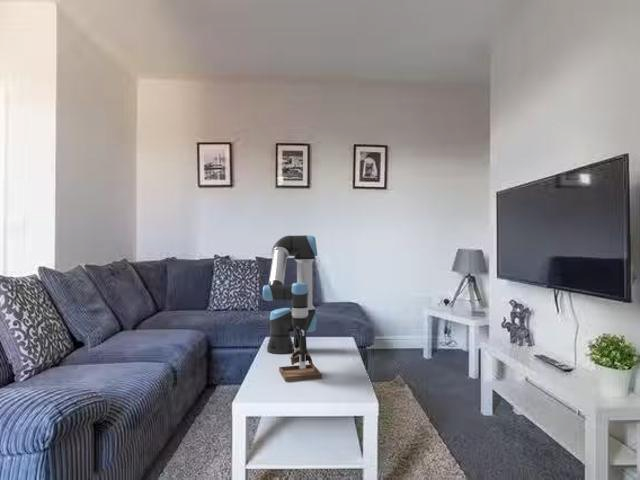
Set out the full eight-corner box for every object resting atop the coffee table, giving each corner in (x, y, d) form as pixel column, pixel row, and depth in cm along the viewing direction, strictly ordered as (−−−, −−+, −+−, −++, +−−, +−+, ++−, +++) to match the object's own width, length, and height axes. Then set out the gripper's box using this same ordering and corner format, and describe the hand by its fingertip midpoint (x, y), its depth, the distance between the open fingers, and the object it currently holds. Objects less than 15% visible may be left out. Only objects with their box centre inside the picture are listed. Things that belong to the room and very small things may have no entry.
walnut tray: (279, 371, 197) (279, 366, 197) (313, 368, 201) (313, 364, 201) (285, 381, 182) (285, 377, 182) (321, 378, 186) (321, 373, 186)
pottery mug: (312, 370, 186) (303, 354, 185) (295, 377, 189) (285, 362, 188) (317, 356, 198) (308, 341, 197) (300, 363, 200) (291, 349, 199)
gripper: (287, 313, 201) (287, 359, 201) (297, 321, 180) (297, 373, 180) (302, 312, 203) (302, 358, 203) (313, 320, 182) (314, 371, 182)
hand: (299, 365), depth 191 cm, fingers closed on pottery mug, 10 cm apart
